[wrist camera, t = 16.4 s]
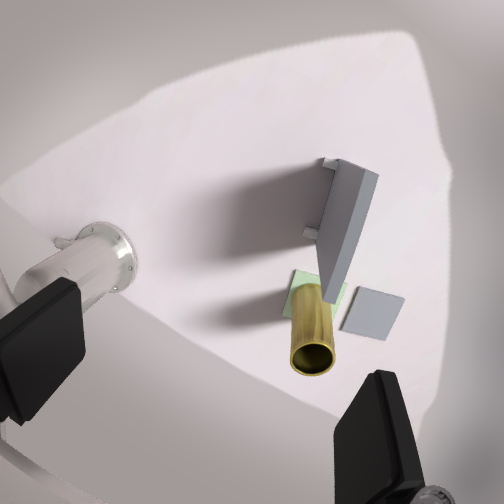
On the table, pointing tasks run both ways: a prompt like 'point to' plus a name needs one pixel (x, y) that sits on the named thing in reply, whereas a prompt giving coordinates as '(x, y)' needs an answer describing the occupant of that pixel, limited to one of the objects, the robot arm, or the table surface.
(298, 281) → the pad sage
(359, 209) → the screen
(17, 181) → the table surface
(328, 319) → the vase
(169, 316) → the table surface
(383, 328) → the pad slate
